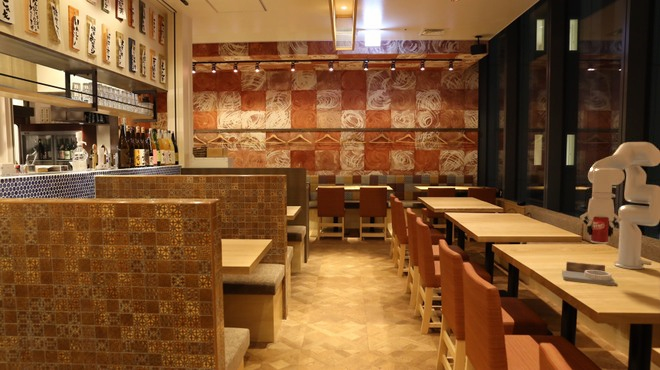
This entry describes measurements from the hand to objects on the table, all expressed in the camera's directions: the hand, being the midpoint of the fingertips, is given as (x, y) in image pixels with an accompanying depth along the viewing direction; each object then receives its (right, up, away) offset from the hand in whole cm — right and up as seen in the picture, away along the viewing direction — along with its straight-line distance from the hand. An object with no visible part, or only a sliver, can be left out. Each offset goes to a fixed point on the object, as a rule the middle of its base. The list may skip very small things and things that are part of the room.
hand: (599, 235), depth 206 cm
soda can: (0, -3, 0) cm, 3 cm away
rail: (0, -20, +12) cm, 23 cm away
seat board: (-4, -21, +3) cm, 21 cm away
